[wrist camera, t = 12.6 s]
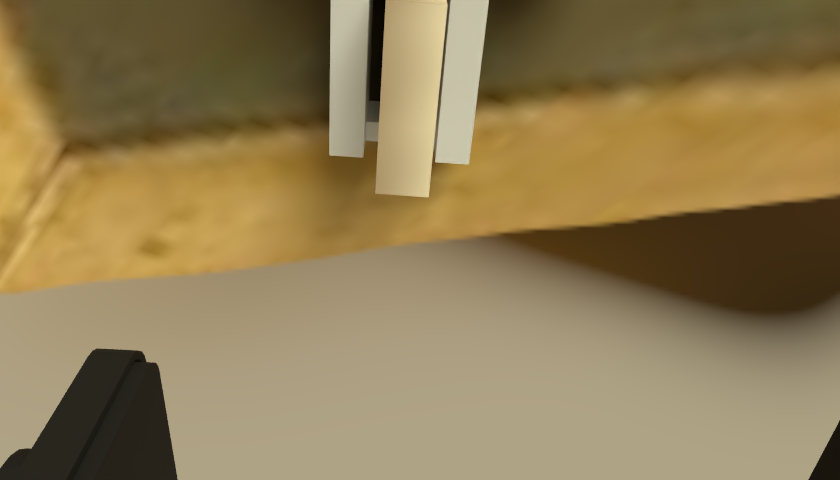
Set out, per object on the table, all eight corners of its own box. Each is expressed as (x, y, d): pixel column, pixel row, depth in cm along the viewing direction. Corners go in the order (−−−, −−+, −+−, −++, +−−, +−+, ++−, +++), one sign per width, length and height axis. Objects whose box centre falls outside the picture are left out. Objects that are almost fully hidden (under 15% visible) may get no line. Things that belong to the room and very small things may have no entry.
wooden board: (435, -54, 33) (447, 5, 22) (423, 90, 36) (428, 197, 26) (393, -57, 33) (385, -1, 22) (384, 87, 36) (375, 193, 26)
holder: (486, -88, 32) (497, -74, 28) (461, 124, 37) (468, 164, 33) (342, -100, 32) (331, -88, 27) (338, 116, 37) (329, 155, 33)
